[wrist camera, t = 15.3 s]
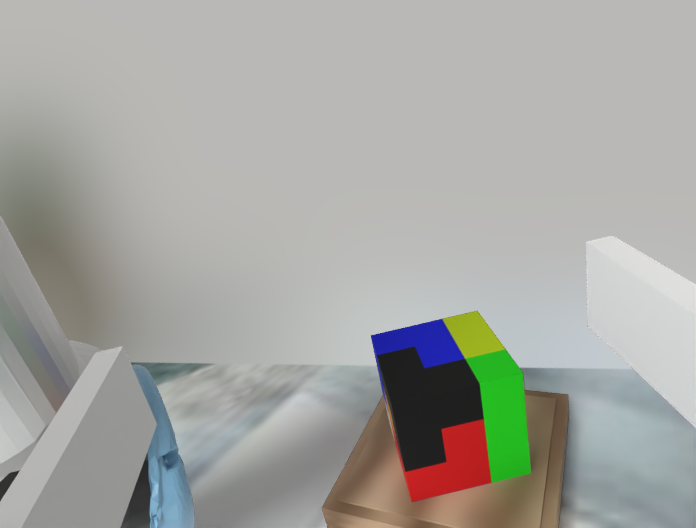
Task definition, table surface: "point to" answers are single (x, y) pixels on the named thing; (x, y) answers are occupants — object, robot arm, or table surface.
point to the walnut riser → (461, 506)
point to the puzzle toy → (453, 405)
